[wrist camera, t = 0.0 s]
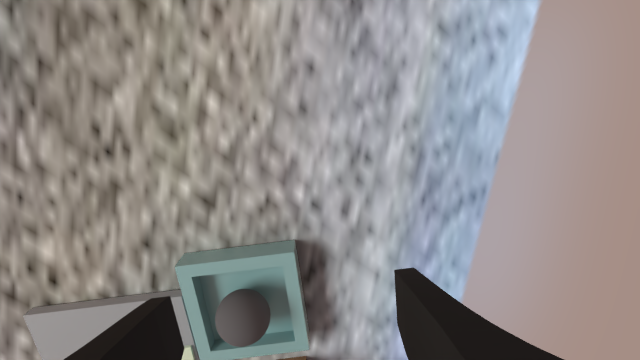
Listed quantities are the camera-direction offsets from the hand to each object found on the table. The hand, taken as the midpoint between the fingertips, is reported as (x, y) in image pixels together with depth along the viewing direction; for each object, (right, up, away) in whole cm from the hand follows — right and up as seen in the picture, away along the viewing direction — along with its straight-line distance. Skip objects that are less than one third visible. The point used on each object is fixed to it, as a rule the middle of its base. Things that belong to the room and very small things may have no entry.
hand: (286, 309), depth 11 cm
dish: (-4, -3, +11) cm, 12 cm away
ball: (-4, -4, +11) cm, 12 cm away
